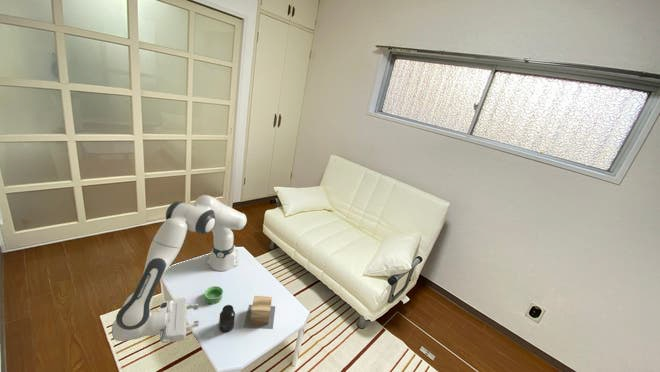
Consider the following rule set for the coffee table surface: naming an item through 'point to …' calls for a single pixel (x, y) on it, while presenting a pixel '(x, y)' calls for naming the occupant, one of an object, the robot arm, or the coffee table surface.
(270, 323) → the mat
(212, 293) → the ramekin
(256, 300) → the tower top
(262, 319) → the tower base
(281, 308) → the coffee table surface
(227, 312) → the supplement bottle
